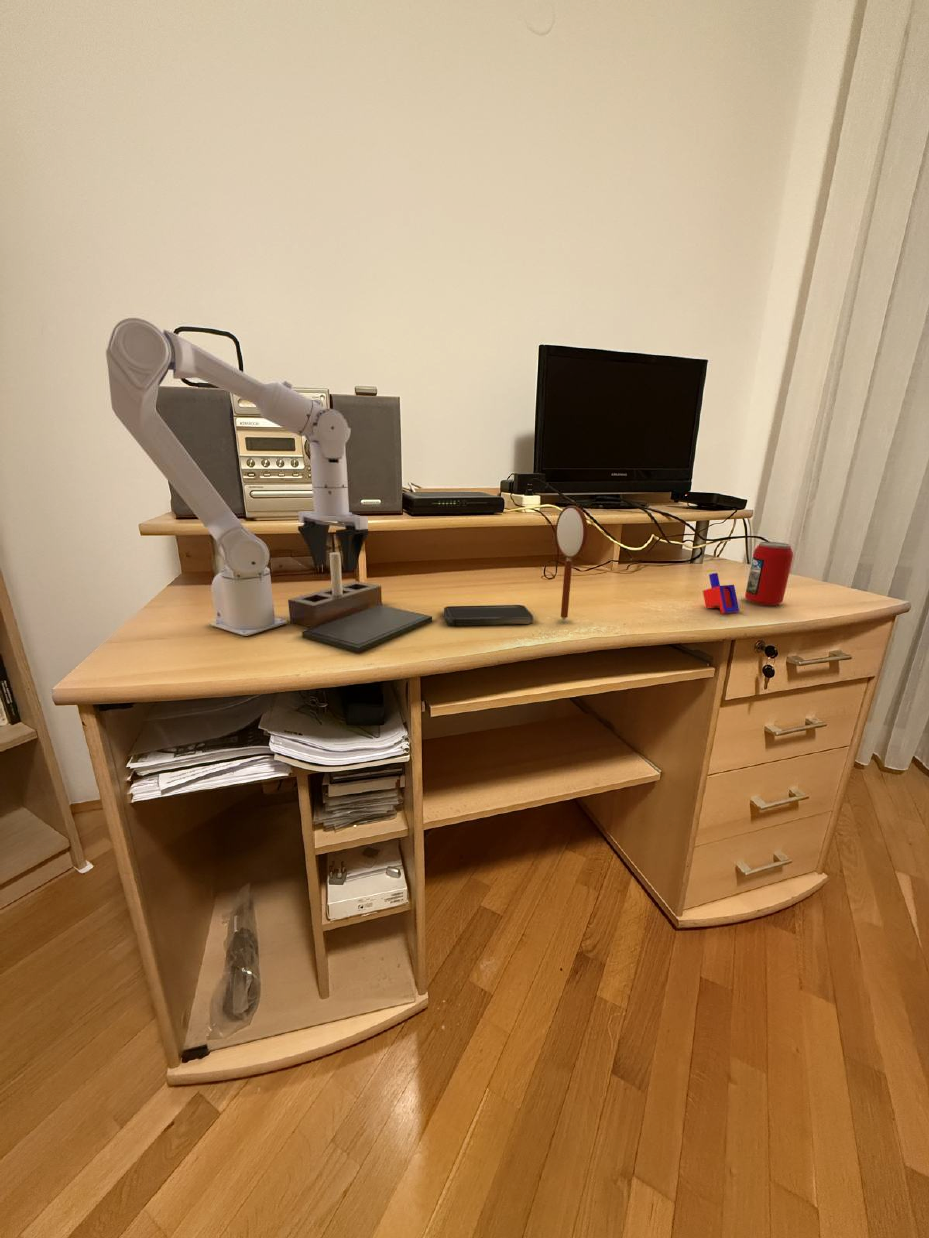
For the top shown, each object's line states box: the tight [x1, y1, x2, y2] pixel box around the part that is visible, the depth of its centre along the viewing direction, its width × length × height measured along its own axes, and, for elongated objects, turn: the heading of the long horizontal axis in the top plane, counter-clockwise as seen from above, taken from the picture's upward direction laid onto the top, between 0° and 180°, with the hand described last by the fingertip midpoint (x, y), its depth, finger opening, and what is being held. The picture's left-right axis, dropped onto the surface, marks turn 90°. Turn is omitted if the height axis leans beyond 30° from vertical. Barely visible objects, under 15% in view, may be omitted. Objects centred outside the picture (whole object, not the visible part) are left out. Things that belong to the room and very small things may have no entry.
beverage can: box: [744, 541, 794, 607], centre depth 98 cm, size 7×7×12 cm
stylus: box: [329, 551, 343, 596], centre depth 87 cm, size 2×2×11 cm
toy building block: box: [702, 572, 740, 615], centre depth 94 cm, size 4×4×8 cm
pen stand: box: [287, 580, 383, 629], centre depth 88 cm, size 6×16×4 cm, turn 148°
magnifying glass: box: [555, 505, 589, 623], centre depth 83 cm, size 9×2×20 cm, turn 21°
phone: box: [443, 604, 534, 627], centre depth 87 cm, size 8×1×15 cm
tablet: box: [301, 604, 433, 655], centre depth 80 cm, size 12×18×1 cm, turn 148°
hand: (335, 567), depth 86 cm, fingers open, 7 cm apart
